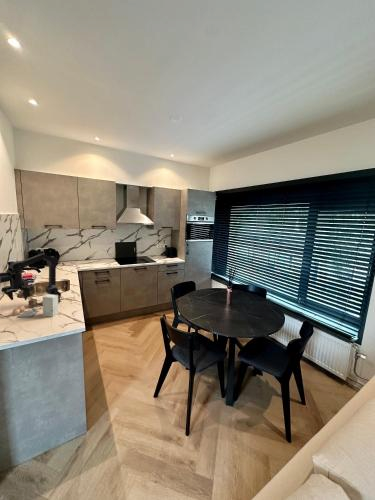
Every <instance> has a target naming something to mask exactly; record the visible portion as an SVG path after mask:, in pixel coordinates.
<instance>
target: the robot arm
mask: <svg viewBox="0 0 375 500" xmlns="http://www.w3.org/2000/svg"><path fill="white" fill-rule="evenodd" d="M42 260H44V261H46V265H47V267H48V285H47V286H45V292H46V295H48V294H50V295H58V304H60V303H61V302H62V300H61V295H62V292H60V291H59V289H58V286H57V284H56V282H57V278H56V277H57V275H56V274H57V269H56V268H57V267H58V264H59V259H58V257H56V256H51V255H47V254H45V253H39V254H37V255H34V256H32V257H29V258H26V259H24V260H17V261H13V262H10V263H9V266H8V268H7V269H6V270H5V272H0V284H3V283H8V282H10V284H11V285H6V286H3V287H2V288H1V293H4V294H5V295H6V296H7V297H8V299H10V301H13V300H14V294H13V293H14V291H23V292H22V293H23V298H24V301H27V299H28V297H29V294H30V292H32V291H34V290H35V287H34V285H29V281H25V280H24V279H23V274H25V273H26V271H24V270H23V269H25V268H26V267H27V266H29V265H32V264H34V263H37V262H39V261H42Z"/></svg>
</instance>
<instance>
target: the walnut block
mask: <svg viewBox="0 0 375 500" xmlns="http://www.w3.org/2000/svg"><path fill="white" fill-rule="evenodd" d="M27 303H28V309H33V307H38V299H37V298H31V299H28V301H27Z"/></svg>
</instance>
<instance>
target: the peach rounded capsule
mask: <svg viewBox="0 0 375 500" xmlns="http://www.w3.org/2000/svg"><path fill="white" fill-rule="evenodd" d="M18 308H19V309H20V314H22V313H23V312H25V305H19V306H17V309H18Z"/></svg>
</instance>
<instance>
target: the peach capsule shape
mask: <svg viewBox="0 0 375 500" xmlns="http://www.w3.org/2000/svg"><path fill="white" fill-rule="evenodd" d="M20 314H21V313H20V309H19V308H18V307H17V308H14V309H12V315H13V316H14V317H17V316H19V315H20Z"/></svg>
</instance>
